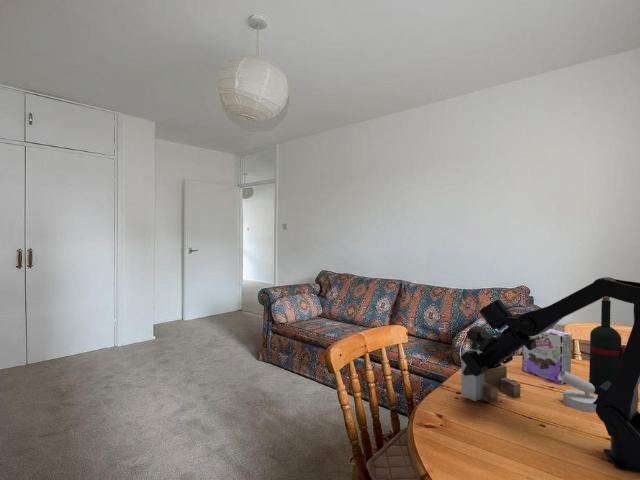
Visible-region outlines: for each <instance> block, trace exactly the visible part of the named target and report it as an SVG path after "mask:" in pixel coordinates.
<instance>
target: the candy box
mask: <svg viewBox="0 0 640 480" xmlns="http://www.w3.org/2000/svg"><path fill="white" fill-rule="evenodd" d="M572 336H573V335H572V333H569V332H568V333H567V332H564V331H561V330H556V329H552V328H550V329H549V330H547V331H546V332H544V333H541V334H538V335H536V336H530V337H531V338H535V339H536V346H537V347H536V348H535V349H532V350H528V349H527V348H526V347H525V345H524V346H523V347H522V361H521V363H522V365H521V366H522V369H521V370H522V371H523V372H525V373H528V374H531V375H534V376H536V377H539V378H542V379H545V380H547V381H550V382H552V383H555V384H558V385H565V384H566V383H565V382H563V381H561V380H559V378H558V376H559V373H560V372H561V371H562V370H564V371H566V372H568V373H570V374H572V341H573V338H572Z"/></svg>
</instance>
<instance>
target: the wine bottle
mask: <svg viewBox="0 0 640 480" xmlns="http://www.w3.org/2000/svg"><path fill="white" fill-rule="evenodd" d="M610 298H611V297H607V296H606V297H604V298H602V299H601V305H600V307H601V309H600V313H601V315H600V317H601V319H600V320H601V321H600V325H599V326H596V327H594V328H593V329H591V331H590V333H589V335H590V336H589V366H588V367H589V368H588V369H589V372H588V373H589V375H588V382H589V383H591V384H592V385H593V386H594V387H595V392H594V393H593V394H596V395H598V389H599V387H600V386H601V385H603V384H604V383H605V382H607V381H608V382H610V383H613V381H614V378H615V376H616V373H617V370H618V367H619V364H620V361H621V359H622V356H623V353H624V350H625V347H626V345H625V344H623V345H622V336H621V334H620V333H619V332H618V331H617V330H616V329H615V328H613V327H611V304H612V303H611V300H610Z"/></svg>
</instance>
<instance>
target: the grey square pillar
mask: <svg viewBox="0 0 640 480" xmlns="http://www.w3.org/2000/svg"><path fill="white" fill-rule="evenodd" d="M471 350H474V351H477V353H478V354H479V353H481V352H482V351H480V350H476V349H473V348H468V349H466V350H462V351H461V355H463V354H464V353H465V352H468V351H471ZM461 355H460V356H461ZM460 362H461V379H460V380H461V383H460V384H461V393H460V394H461V396H462V397H464V398H466V399H469V400H472V401H474V402H477V401H479V400H481V399H483V397H484V373H483V374H481V375H478V376H474V375H467V376H465V375H464V374H463V371H464V369H465V367H466V366H467V365H466V364H465V363H464V361H463V360H462V359H461V361H460Z"/></svg>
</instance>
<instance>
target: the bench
mask: <svg viewBox="0 0 640 480" xmlns="http://www.w3.org/2000/svg"><path fill="white" fill-rule="evenodd" d="M507 368H508V367H507V365H505V364H501V366H500V367H497V368H493V369H488V370H487V371H486V372H485V373H484V397H483V398H482V399H483V400H484V401H486V402H488V403H490V404H493V403H498V402H499V397H498V395H499V391H500V393H503V394H504V395H507V396H508V397H510V398H511V399H512V398H513V399H519V398H521V383H520V382H517V381H516V380H513V379H510V378H508V377H507V375H508V371H507V370H508V369H507Z"/></svg>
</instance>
